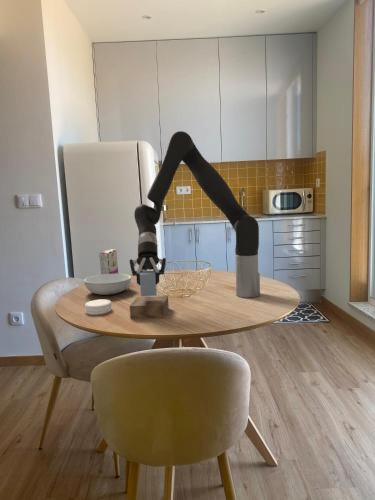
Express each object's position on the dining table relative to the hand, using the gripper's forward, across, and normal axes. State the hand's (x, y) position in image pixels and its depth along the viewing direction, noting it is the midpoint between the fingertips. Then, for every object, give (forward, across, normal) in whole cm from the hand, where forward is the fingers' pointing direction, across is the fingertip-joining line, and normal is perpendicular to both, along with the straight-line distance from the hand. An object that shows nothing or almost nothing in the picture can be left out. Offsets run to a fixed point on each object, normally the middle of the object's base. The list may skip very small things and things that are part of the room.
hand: (148, 283), depth 140 cm
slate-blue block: (+2, 0, +4) cm, 5 cm away
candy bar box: (-32, -22, +49) cm, 62 cm away
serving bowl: (-17, -20, +34) cm, 43 cm away
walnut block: (+7, 0, +10) cm, 12 cm away
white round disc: (+2, -20, +15) cm, 25 cm away
